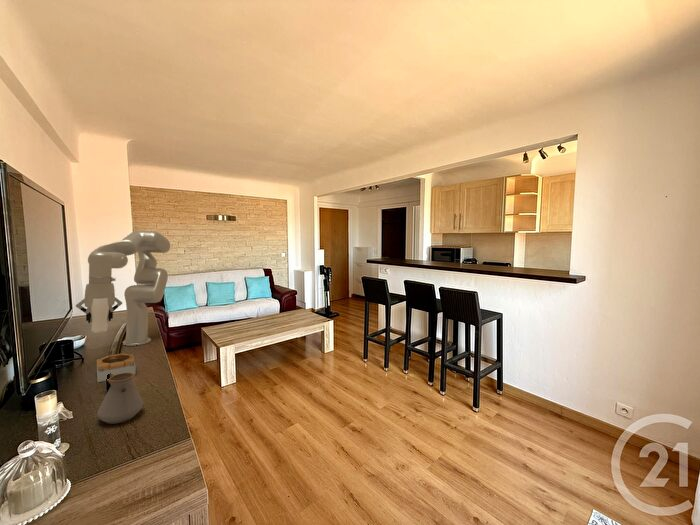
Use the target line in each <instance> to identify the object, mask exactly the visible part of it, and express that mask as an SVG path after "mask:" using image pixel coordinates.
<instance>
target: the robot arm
mask: <svg viewBox="0 0 700 525" xmlns="http://www.w3.org/2000/svg"><path fill="white" fill-rule="evenodd" d="M170 249H171V243H170V241H169V240H168V238H167V237H165V236H164V235H163V234H161V233H160V232H157V231H154V230H135V231H132V232H131V233H129V234H128V235H127V236H126V237H124V238H123V239H121V240H117V241H114V242H109V243H106V244H103V245H100V246H99V247H97V248H95V249H94V250H92V251H91V252H90V254H89V255H88V257H87V263H88V283H86V285H85V290H84V298H83V299H82V300H81V301H79V302H78V303H77V304H76V305H75V307H76V309H79V310H80V311H81V312H83V313H85V321H86V322H87V323H88V324H90V323H91V314H90V310H91V307H92V303H93V299H103V298H107V300H108V306H109V310H110V311H109V318H108V322H111V321H112V319H114V317H113V316H114V311H115V310H117V309H118V308H119V307H120V306H122V305H123V301H121V300H120V299H119V298H118V297H116V294H115V292H116V291H115V290H116V289H115V285H114V283H113V282H116V277H113V276H112V272H113V271H112V269H122V268H124V267H126V266H127V265H128V263H129V260H128V256H131V255H135V254H136V253H137V254H138V255H137V256H138V258H139V259H138V263H137V264H138V265H137V267H136V270H135V272H134V276H133V281H134V282H135V283H136V284H134V285H133V284H132V285H129V286H128V287H126V289H125V290H124V294H123V295H124V299H125V305H126V306H125V307H126V322H125V324H126V326H125V327H126V328H125V329H126V330H125V333H126V334H125V339H124V340H123V341H122V343H123V344H122V345H123V346H125V345H126V346H125V347H133V346H136V345H137V346H141V345H145V344H149V343H150V342H151V341H152V339H151V337H148V334H149V333H148V332H149V309H148V307H147V305H146V303H147V304H148V303H149V304H157V303H160V302H161V301H162V299H163V297H164V293H165V290H166V286H167V282H168V278H169V274H168V271H167V270H166V269H164V268H160V267H159V268H158V267H157V264H158V261H157V259H156V257H155V256H154V255H153V254H155V253H156V254H157V253H159V254H160V253H161V254H164V253H168V252H169V251H170ZM115 302H116V304H115ZM83 304H84V306H83ZM85 307H86V308H85Z"/></svg>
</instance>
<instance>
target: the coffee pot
mask: <svg viewBox="0 0 700 525" xmlns="http://www.w3.org/2000/svg"><path fill="white" fill-rule="evenodd" d="M134 377H135V375H134V374H133V373H121V374H117V375H114V376H112V377H110V378H109V379H107V382H108V383H109V384H110V387H109V389H108V390H107V393H106V395H105V396H104V399H103V401H102V403H101V404H100V406H99V408H98V410H97V412H96V413H97V417H98V418H99V420H101V421H102V422H105V423H107V424H113V425H114V424H120V423H121V424H122V423H124V422H127V421H129V420H131V419H133V418H134V417H135V416H136V415H137V414H138V413H139V412H140V411H141V410H142V408H143V406H144V400H143V398H142V397H141V395H140V394H139V392H138V390H137V389H136V387H135V384H134V383H133V382H132V381H133V378H134Z"/></svg>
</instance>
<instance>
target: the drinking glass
mask: <svg viewBox="0 0 700 525" xmlns="http://www.w3.org/2000/svg"><path fill="white" fill-rule="evenodd" d="M109 311H110V310H109V306H108V300H107V298H103V299H93V303H92V307H91V310H90V314H91V322H90V323H91V326H90V327H91V328H90V329H91V333H94V334H96V333H97V334H98V333H105V332H106V331H107V330H108V325H109V324H108V323H109Z"/></svg>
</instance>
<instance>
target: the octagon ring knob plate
mask: <svg viewBox="0 0 700 525" xmlns="http://www.w3.org/2000/svg"><path fill="white" fill-rule="evenodd" d="M110 373H111V374H113V375H117V374H121V373H133V374H134V376H136V375H135V374H137V365H136V362H135V355H134V354H133V353H117V354H110V355H107V356H104V357H102V358H99V359H96V377H97V383H101V382H106V379H107V375H108V374H110Z"/></svg>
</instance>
